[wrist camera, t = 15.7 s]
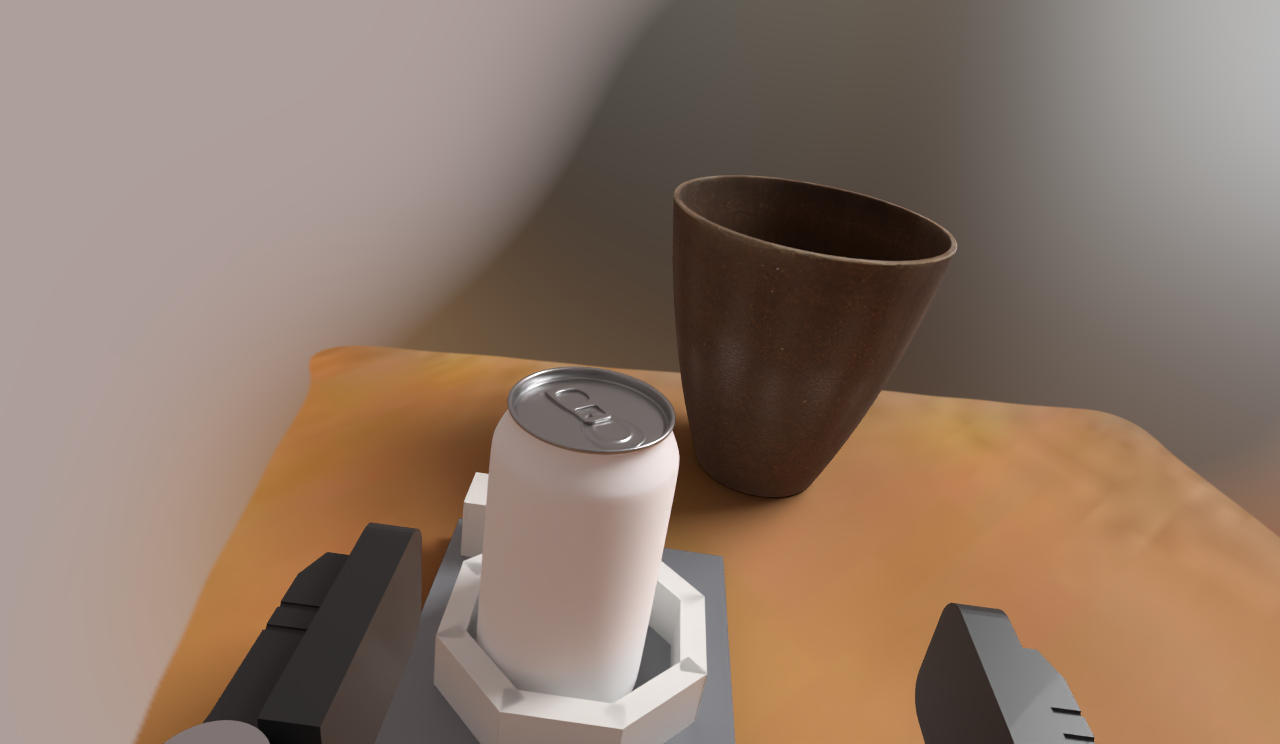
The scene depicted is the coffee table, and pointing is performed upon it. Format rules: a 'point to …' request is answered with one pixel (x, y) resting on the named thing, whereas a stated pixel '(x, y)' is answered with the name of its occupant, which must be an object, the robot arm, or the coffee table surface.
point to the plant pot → (791, 318)
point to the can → (575, 530)
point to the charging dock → (556, 725)
